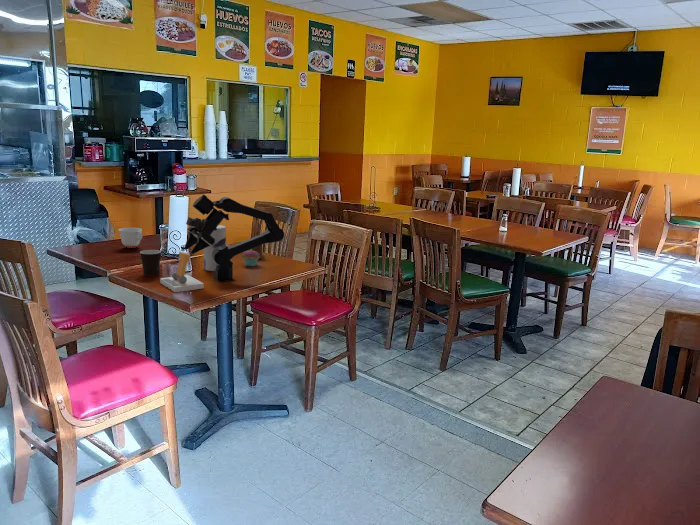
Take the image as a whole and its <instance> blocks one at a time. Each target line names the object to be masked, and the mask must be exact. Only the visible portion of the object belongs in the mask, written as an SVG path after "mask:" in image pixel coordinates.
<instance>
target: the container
mask: <svg viewBox="0 0 700 525" xmlns="http://www.w3.org/2000/svg"><path fill="white" fill-rule="evenodd" d="M216 228H217V230H216V231H215V230H214V231H213V232H212V234H211V236H212V237H213V238H214V239H215V243H214V244H213V245H210V244H209V245H210V246H208V247H206V248H204V249H203V269H204V270H205V271H209V272H215V269H216V266H218V264H217V263H216V262H215V261H214V260H213V258H212V252H213V250H214V249H216V247H219V246H221V245H223V244H225V245H226V246H227V226H226V225H220V224H219V225H218V226H217V227H216Z"/></svg>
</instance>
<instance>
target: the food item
mask: <svg viewBox="0 0 700 525" xmlns="http://www.w3.org/2000/svg"><path fill="white" fill-rule="evenodd" d="M251 238H252V237H250V238H247V239H246V240H248V239H251ZM247 251H249V250H247ZM250 251H251V249H250ZM252 251H256V252H258V253H259V255H260V258H259V259H262V258H263V244H262V245H260V246H257V247H255V248H252Z"/></svg>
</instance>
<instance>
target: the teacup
mask: <svg viewBox="0 0 700 525" xmlns="http://www.w3.org/2000/svg"><path fill="white" fill-rule="evenodd" d="M117 230H118V232H119V235H120V240H121V244H122V245H123V246H124V247H126V246H129V247H130V246H131V247H132V246H137V247H138V245H140V243H141V240H142V239H143V236H144V234H143V232H142V231H143V229H142V228H141V227H129V226H128V227H122V228H121V227H120V228H118V229H117Z"/></svg>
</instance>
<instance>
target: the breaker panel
mask: <svg viewBox="0 0 700 525" xmlns="http://www.w3.org/2000/svg"><path fill="white" fill-rule="evenodd" d="M176 274H177V271H174V272H173V273H172V274H171V276H169V277H160V278H159V280H160V284H161V285H163V286H164V287H166V288H167V287H168V288H167V289H169V290H170V289H171V290H170V291H173V292H174V293H181V292H188V291H194V290H201V289H204V288H205V287H204V286H205V285H204V284H205V283H204V282H202V281H200V280H198V279H196V278H194V277H192V276H191V275H189V274H184V276H180V277H179V279H177V278H176ZM180 291H181V292H180Z"/></svg>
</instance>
